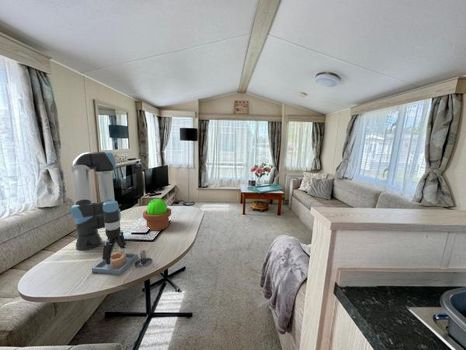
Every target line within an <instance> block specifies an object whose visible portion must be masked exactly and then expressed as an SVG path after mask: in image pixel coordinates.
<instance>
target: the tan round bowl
mask: <svg viewBox="0 0 466 350" xmlns="http://www.w3.org/2000/svg"><path fill="white" fill-rule="evenodd" d="M115 252H116V253H112V254H111V258H112V265H113V269H117V268H120V267H122V266H123V265H125V264H126V254H125V253H126V252H125V251H124V252H119V251H115ZM108 257H109V256H108Z"/></svg>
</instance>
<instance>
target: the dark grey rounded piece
mask: <svg viewBox="0 0 466 350" xmlns="http://www.w3.org/2000/svg"><path fill="white" fill-rule="evenodd" d="M139 254H140V255H139V256H140V259H137V261H136V260H135V261H134V267H135V268H139V269H141V268H142V269H143V268H146V267H148V266H149V267H150V265H151V264H152V263H153V259H152V258H151V257H150V258H149V257H147V252H146V250H141V251H140V253H139Z"/></svg>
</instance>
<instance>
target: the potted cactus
mask: <svg viewBox="0 0 466 350" xmlns="http://www.w3.org/2000/svg"><path fill="white" fill-rule="evenodd" d="M171 215H172V209H171V208H170V207H168V206H167V204H166V201H164V199H161V198H155V199H152V200H150V201H149V203H148V204H147V206H146V209H145V210H144V211H143V213H142V218H143V219H144V220H145V221H146V228H147V227H149V228H150V230H149V231H154V230H157V231H160V230H159V229H162V230H165V229H166V228H168V227H169V226H170V221H169V220H170V218H169V217H171Z"/></svg>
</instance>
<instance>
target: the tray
mask: <svg viewBox="0 0 466 350" xmlns="http://www.w3.org/2000/svg"><path fill="white" fill-rule="evenodd" d="M116 252H117V251H112V253H116ZM125 254H126V264H125V265H123V266H122V267H120V268H117V269H109V268H107V264H106V260H103V259H101V260H100V261H99V262H98V263H96V264H94V265H93V266H92V267H91V273H92V274H107V275H117V276H118V275H119V276H121V275H122V274H123V273H124V272H125V271H127V269H128V268H129V267H130V266H131V265H132V264H133V263H135V262H136V260H138V258H139V254H138V253H131V252H125Z"/></svg>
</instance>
